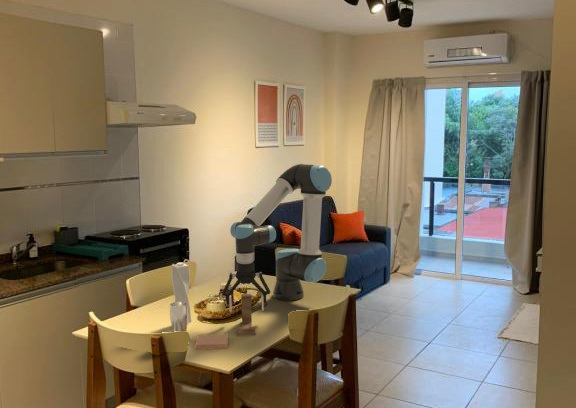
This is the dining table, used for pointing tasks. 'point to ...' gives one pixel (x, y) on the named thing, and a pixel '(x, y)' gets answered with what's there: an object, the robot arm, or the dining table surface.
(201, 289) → the dining table surface
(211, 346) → the tile
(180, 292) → the skyscraper
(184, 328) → the beer glass
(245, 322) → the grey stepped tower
